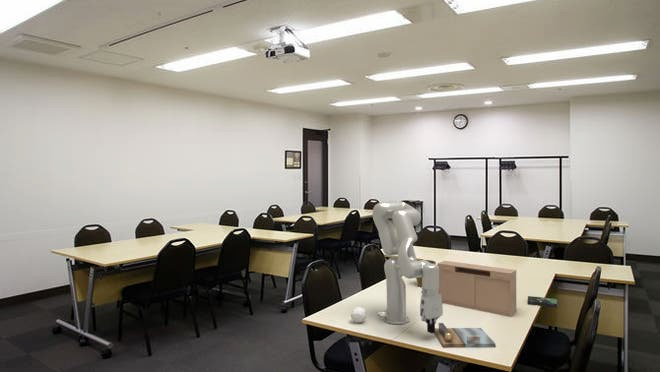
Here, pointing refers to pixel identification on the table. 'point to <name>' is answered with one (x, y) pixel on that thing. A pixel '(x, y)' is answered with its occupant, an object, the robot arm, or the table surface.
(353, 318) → the white ball
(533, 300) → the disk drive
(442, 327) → the lock bar
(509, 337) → the table surface
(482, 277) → the box
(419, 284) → the plant pot
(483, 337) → the plate
